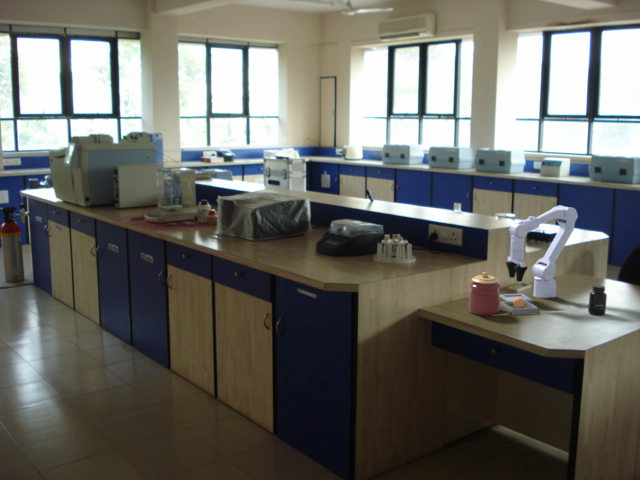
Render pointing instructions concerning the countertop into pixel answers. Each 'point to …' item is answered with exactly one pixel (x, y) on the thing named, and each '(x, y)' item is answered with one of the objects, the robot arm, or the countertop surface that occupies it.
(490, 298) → the canister
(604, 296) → the supplement bottle
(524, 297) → the dish
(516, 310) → the tray
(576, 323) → the countertop surface
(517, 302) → the ball
